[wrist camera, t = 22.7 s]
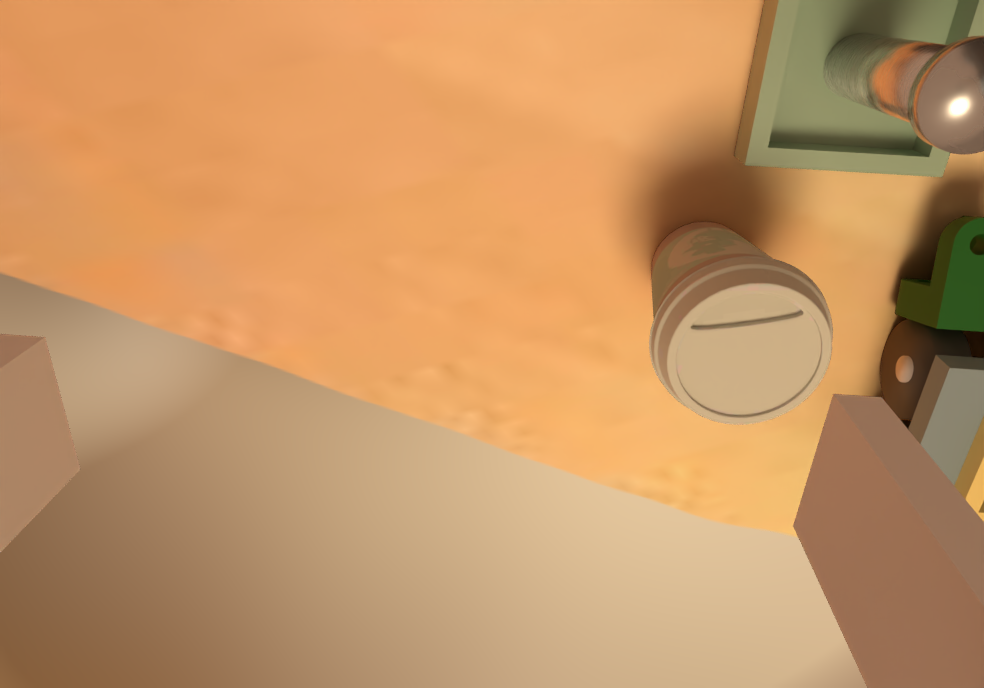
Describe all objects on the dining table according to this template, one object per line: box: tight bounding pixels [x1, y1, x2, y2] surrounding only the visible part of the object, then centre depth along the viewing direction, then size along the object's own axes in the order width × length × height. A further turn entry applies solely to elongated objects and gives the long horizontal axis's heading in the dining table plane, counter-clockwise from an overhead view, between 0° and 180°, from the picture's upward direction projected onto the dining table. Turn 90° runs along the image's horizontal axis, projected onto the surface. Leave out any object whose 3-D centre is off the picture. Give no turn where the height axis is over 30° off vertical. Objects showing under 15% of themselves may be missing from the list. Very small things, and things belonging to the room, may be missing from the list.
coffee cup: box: [649, 222, 833, 425], centre depth 38 cm, size 8×8×12 cm
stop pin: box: [823, 33, 984, 154], centre depth 32 cm, size 4×4×12 cm
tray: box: [734, 0, 984, 177], centre depth 37 cm, size 10×10×2 cm
